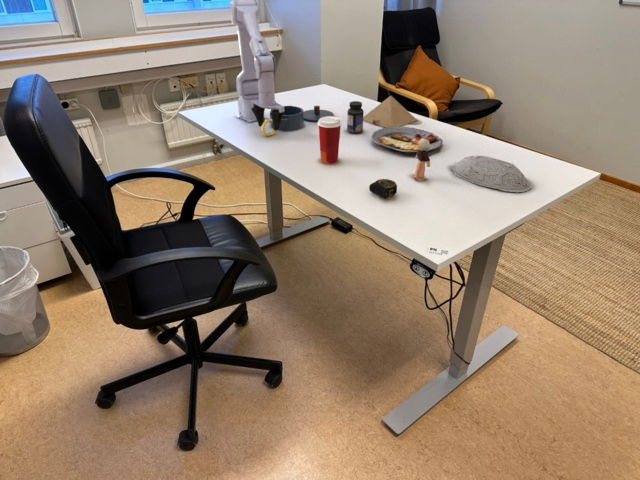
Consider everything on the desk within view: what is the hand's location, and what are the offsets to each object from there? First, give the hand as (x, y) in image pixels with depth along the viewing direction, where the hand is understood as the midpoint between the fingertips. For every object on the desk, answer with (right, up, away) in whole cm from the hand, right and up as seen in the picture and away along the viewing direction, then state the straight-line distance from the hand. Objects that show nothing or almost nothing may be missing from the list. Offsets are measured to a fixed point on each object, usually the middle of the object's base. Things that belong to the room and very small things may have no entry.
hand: (268, 127), depth 168 cm
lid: (+18, +10, +20) cm, 28 cm away
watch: (0, -3, +2) cm, 3 cm away
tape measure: (+37, -30, -40) cm, 62 cm away
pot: (+6, +4, +11) cm, 13 cm away
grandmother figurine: (+50, -24, -30) cm, 63 cm away
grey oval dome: (+72, -23, -29) cm, 81 cm away
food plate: (+50, -8, -6) cm, 52 cm away
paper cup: (+22, -16, -19) cm, 33 cm away
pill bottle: (+33, 0, +5) cm, 33 cm away
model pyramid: (+47, +7, +17) cm, 51 cm away
